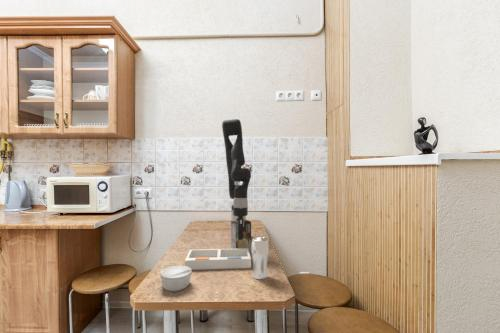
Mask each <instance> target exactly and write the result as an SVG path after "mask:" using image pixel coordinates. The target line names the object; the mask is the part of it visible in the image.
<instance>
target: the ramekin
mask: <svg viewBox="0 0 500 333" xmlns="http://www.w3.org/2000/svg"><path fill="white" fill-rule="evenodd" d="M192 271H193V270H191V268H190V267H187V266H185V265H173V266H169V267H166V268H163V269H162V270H161V272H160V279H161V285H162V287H163V289H164V290H166V291H169V292H177V291H182V290H184V289H185V288H187V287H188V286H189V284H190V282H191V275H192Z"/></svg>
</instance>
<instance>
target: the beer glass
mask: <svg viewBox="0 0 500 333" xmlns="http://www.w3.org/2000/svg"><path fill="white" fill-rule="evenodd" d="M269 250H270V247H269V238H268V237H265V236H264V237H263V236H255V237H251V252H250V253H251V261H252V264H253V266H252V267H253V269H252V274H251V275H252V278H253V279H255V280H261V281H262V280H265V279H267V278H268V270H267V265H268V260H269V253H270V251H269Z"/></svg>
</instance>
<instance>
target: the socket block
mask: <svg viewBox="0 0 500 333" xmlns="http://www.w3.org/2000/svg"><path fill="white" fill-rule="evenodd" d="M184 266H187V267H190V268H191V270H192V271H198V270H223V269H224V270H230V269H231V270H234V269H251V268H252V256H251V252H250V253H249V249H248V248H239V249H231V248H209V249H208V248H207V249H205V248H203V249H202V248H200V249H189V251H188V254H187V255H186V257H185V259H184Z"/></svg>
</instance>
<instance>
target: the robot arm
mask: <svg viewBox="0 0 500 333" xmlns="http://www.w3.org/2000/svg"><path fill="white" fill-rule="evenodd" d="M221 127H222V134H223V139H224V140H223V141H224V147H225V159H226V170H227V176H228V195H229V197H230V199H231V200H233V202H232V205H231V221H237V223H238V239H239V240H242V239H243V231H244V230H243V228H244V220H247V219H246V218H247V216H248V214H249V213H248V212H249V210H248V209H249V208H248V206H249V203H248V191H249V190H248V188H249V185H250V181H251V177H252V172H251V170H250V169H249V168H247V167H245V168H243V166H244V165H245V163H246V160H245V159H246V158H245V153H244V148H243V146H244V143H243V140H244V139H243V128H242V123H241V120H240V119H235V118H234V119H227V120H225V119H224V120H222V122H221ZM231 136H233V137H234V136H236V140H235V142H234V144H233V143H232V141H231V140H230V137H231ZM235 182H236V183H237V182H238V183H239V182H240V183H241V184H235ZM231 221H230V222H231ZM239 228H242V229H239Z"/></svg>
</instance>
